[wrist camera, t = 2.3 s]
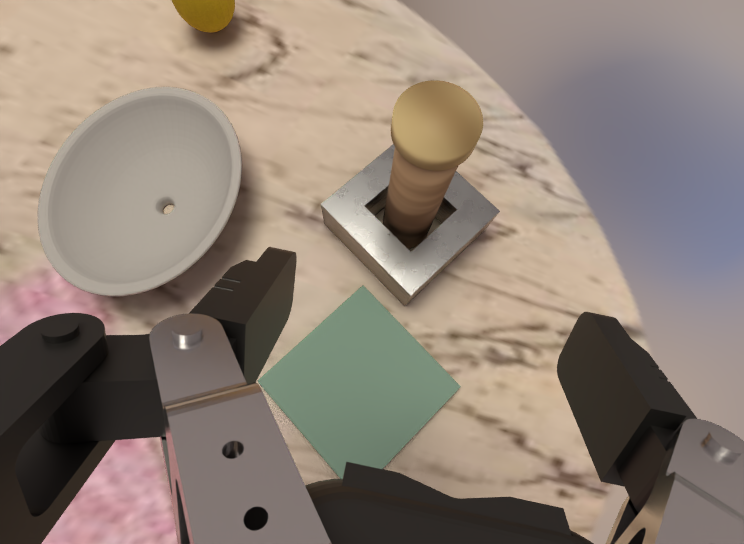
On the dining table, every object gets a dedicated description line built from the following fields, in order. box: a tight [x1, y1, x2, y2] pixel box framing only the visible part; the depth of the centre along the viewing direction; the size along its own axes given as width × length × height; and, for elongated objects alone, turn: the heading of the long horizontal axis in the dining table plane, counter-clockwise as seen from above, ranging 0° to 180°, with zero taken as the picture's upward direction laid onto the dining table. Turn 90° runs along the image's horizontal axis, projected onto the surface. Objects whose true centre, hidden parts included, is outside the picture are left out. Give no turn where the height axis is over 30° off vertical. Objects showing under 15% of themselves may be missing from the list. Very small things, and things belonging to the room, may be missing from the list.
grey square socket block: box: [321, 144, 500, 306], centre depth 35 cm, size 10×10×4 cm
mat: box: [258, 286, 461, 479], centre depth 32 cm, size 11×11×1 cm
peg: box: [383, 81, 483, 248], centre depth 29 cm, size 5×5×15 cm
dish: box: [38, 87, 242, 296], centre depth 34 cm, size 18×14×5 cm
